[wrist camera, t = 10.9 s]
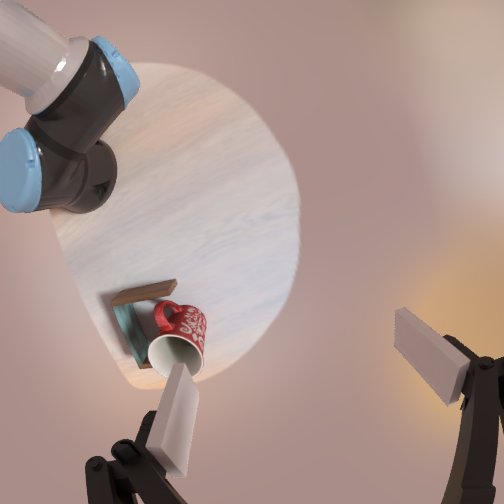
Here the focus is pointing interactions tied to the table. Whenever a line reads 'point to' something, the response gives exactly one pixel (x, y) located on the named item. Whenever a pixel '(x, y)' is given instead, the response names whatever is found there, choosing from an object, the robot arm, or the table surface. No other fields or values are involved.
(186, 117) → the table surface
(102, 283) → the table surface
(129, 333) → the dock
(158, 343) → the mug
